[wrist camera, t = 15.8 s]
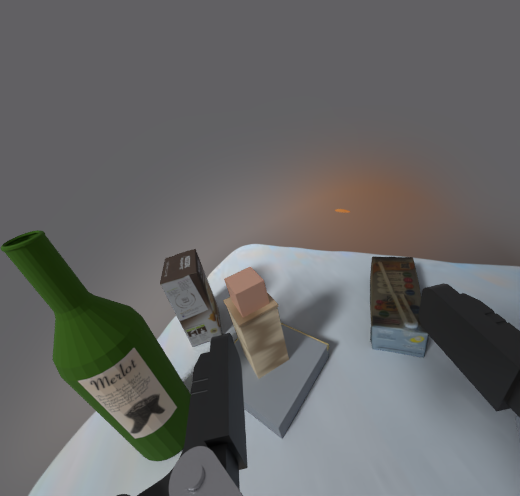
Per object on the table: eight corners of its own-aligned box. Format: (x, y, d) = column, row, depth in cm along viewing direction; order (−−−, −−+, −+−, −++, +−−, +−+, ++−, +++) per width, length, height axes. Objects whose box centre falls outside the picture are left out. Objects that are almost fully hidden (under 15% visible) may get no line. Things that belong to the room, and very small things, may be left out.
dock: (263, 323, 50) (260, 313, 49) (329, 355, 42) (328, 343, 40) (211, 383, 42) (206, 372, 40) (282, 439, 33) (278, 428, 31)
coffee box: (223, 336, 50) (197, 273, 42) (192, 347, 49) (159, 285, 41) (218, 306, 57) (195, 248, 49) (191, 315, 57) (163, 257, 49)
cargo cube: (256, 288, 37) (250, 266, 35) (269, 303, 33) (263, 280, 31) (231, 300, 35) (224, 278, 33) (243, 317, 32) (235, 294, 30)
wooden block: (272, 335, 44) (258, 282, 38) (290, 359, 39) (278, 304, 33) (242, 352, 42) (223, 300, 36) (258, 380, 37) (238, 325, 31)
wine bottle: (153, 481, 32) (-65, 287, 15) (131, 427, 38) (-40, 249, 22) (210, 423, 36) (88, 226, 20) (182, 383, 43) (72, 209, 26)
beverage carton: (368, 350, 41) (369, 323, 38) (370, 277, 56) (370, 253, 53) (425, 360, 38) (431, 331, 35) (411, 280, 53) (414, 254, 49)
